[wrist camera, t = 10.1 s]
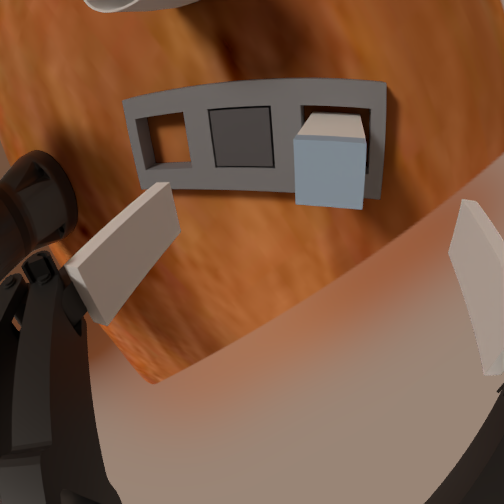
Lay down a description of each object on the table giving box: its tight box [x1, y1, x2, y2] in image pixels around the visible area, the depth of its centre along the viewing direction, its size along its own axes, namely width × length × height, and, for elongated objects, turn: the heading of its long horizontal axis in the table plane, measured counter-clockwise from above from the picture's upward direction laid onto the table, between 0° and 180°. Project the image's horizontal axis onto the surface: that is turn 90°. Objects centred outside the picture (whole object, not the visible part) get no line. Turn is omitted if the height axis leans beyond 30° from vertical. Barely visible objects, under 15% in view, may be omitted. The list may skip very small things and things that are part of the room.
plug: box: [293, 111, 367, 210], centre depth 20 cm, size 4×4×10 cm
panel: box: [122, 78, 386, 200], centre depth 26 cm, size 24×10×2 cm, turn 95°
